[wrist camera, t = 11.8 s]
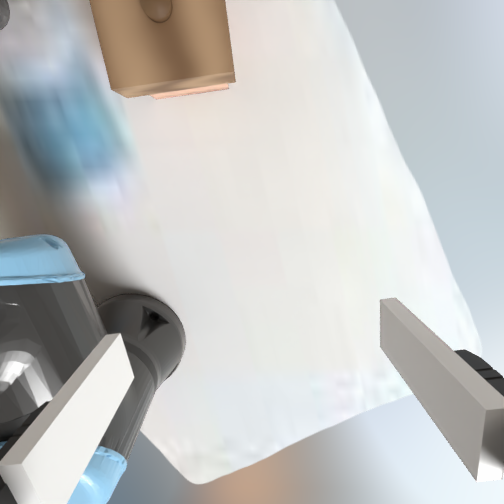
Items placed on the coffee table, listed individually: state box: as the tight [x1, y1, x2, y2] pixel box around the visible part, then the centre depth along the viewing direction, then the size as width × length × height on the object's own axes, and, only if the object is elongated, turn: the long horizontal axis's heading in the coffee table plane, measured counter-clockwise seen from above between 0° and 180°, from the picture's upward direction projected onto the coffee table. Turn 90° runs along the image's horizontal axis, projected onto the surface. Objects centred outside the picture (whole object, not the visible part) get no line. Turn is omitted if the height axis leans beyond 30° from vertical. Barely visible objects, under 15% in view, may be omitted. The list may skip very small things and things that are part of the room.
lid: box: [89, 0, 236, 98], centre depth 25 cm, size 11×11×4 cm
